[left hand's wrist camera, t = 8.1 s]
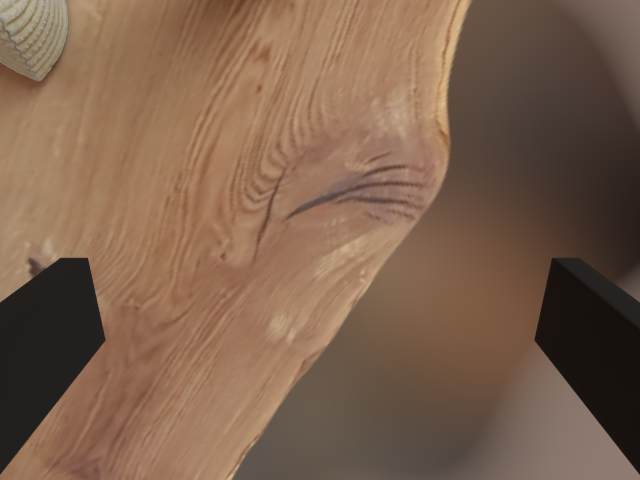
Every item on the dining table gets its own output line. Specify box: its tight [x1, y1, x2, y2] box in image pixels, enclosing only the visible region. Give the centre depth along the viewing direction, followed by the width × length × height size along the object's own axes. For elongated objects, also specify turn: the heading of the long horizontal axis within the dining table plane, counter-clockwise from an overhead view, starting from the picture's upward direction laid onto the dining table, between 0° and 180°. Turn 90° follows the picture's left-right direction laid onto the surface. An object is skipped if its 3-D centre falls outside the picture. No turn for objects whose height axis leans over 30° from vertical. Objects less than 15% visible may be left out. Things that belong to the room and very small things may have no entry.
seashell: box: [0, 0, 68, 82], centre depth 35 cm, size 8×8×8 cm
